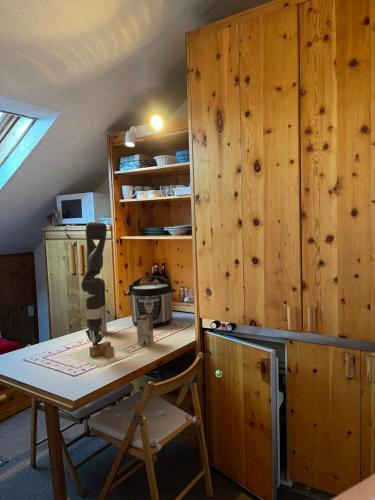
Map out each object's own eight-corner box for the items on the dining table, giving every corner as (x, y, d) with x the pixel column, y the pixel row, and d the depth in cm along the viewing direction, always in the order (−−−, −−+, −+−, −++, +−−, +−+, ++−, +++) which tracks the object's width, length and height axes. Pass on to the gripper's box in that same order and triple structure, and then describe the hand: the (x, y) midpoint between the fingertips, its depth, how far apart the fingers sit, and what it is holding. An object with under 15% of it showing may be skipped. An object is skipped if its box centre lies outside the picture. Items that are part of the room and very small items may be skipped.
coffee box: (143, 342, 214) (141, 314, 213) (153, 342, 213) (152, 314, 211) (137, 347, 205) (136, 318, 204) (149, 348, 204) (147, 318, 202)
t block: (90, 356, 191) (89, 347, 190) (107, 350, 199) (107, 341, 199) (102, 361, 184) (101, 350, 184) (120, 354, 193) (119, 344, 192)
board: (66, 357, 195) (66, 355, 195) (101, 345, 211) (101, 343, 211) (99, 368, 177) (98, 366, 177) (134, 354, 194) (134, 352, 194)
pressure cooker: (120, 326, 249) (118, 278, 246) (145, 316, 273) (143, 272, 271) (158, 331, 234) (156, 280, 231) (182, 320, 258) (180, 273, 256)
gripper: (80, 316, 196) (81, 349, 198) (95, 320, 188) (97, 354, 189) (92, 313, 202) (94, 345, 203) (108, 317, 193) (109, 350, 195)
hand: (95, 349), depth 196 cm, fingers closed
